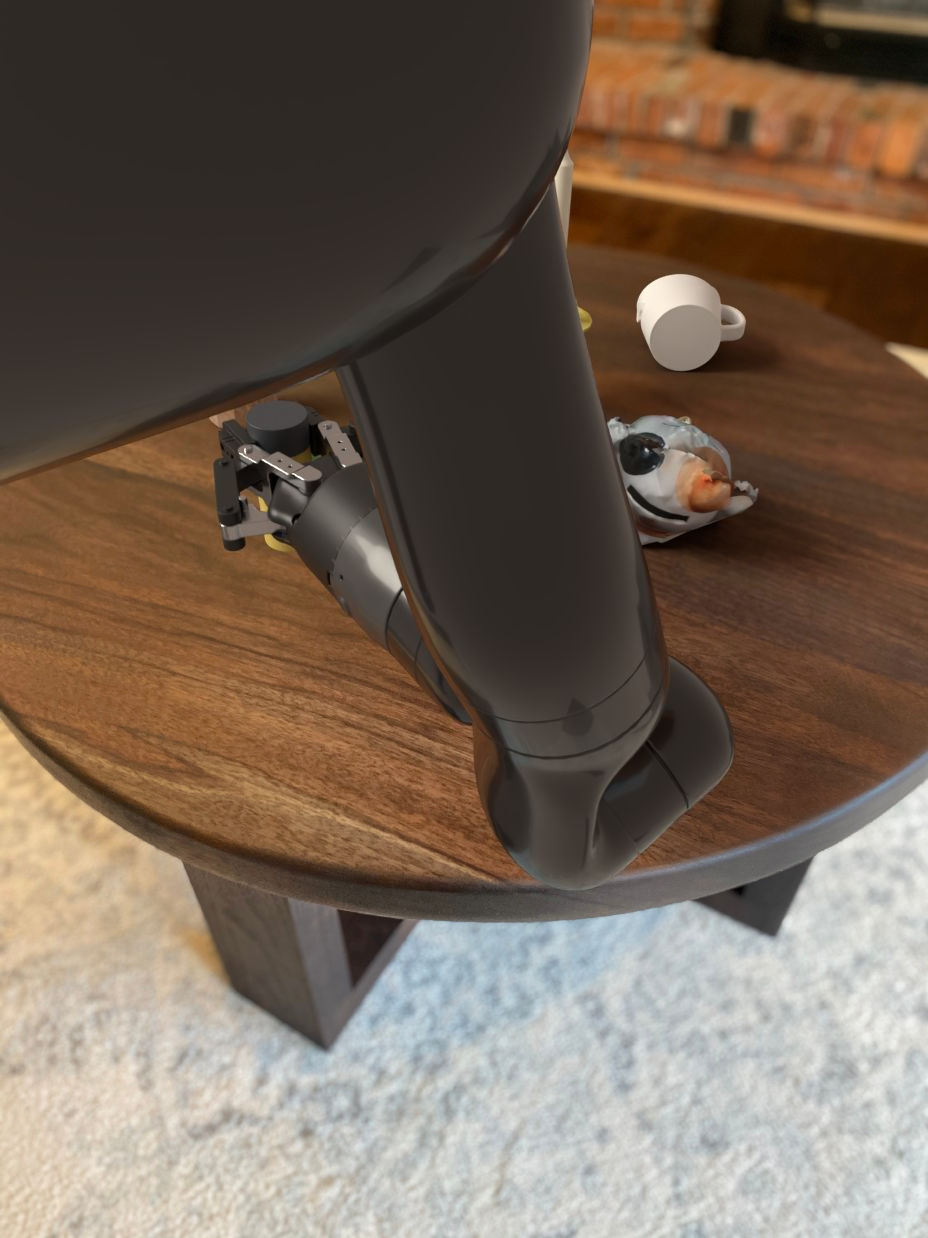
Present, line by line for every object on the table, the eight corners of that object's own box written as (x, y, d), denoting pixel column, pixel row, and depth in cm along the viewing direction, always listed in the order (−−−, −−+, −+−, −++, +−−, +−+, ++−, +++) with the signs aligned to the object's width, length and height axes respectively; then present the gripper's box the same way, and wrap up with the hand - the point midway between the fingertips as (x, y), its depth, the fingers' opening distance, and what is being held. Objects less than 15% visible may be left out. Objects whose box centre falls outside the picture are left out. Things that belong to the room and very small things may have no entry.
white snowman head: (744, 495, 88) (806, 414, 75) (691, 597, 84) (746, 530, 71) (603, 420, 90) (640, 328, 77) (545, 517, 86) (573, 437, 73)
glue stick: (269, 557, 61) (250, 433, 55) (260, 525, 63) (241, 404, 57) (325, 547, 62) (312, 424, 56) (314, 516, 64) (301, 396, 58)
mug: (637, 369, 108) (647, 301, 103) (632, 335, 115) (641, 269, 110) (743, 374, 107) (758, 306, 102) (731, 339, 114) (745, 274, 109)
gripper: (512, 461, 49) (354, 342, 60) (265, 548, 43) (138, 399, 54) (506, 573, 54) (361, 444, 65) (283, 666, 48) (164, 507, 59)
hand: (260, 424), depth 60 cm, fingers closed on glue stick, 3 cm apart
